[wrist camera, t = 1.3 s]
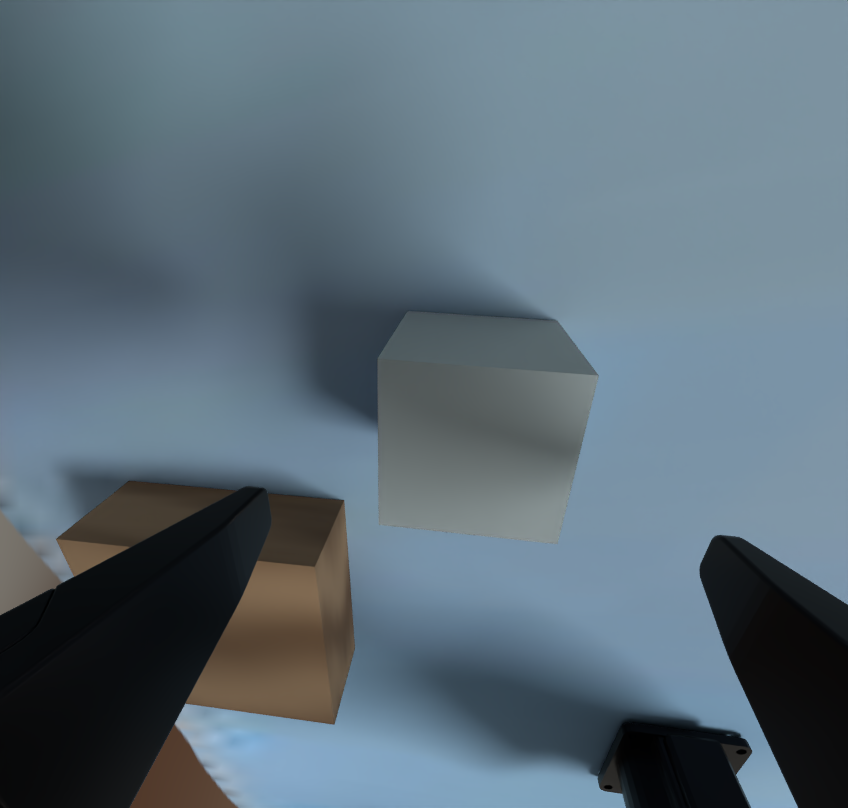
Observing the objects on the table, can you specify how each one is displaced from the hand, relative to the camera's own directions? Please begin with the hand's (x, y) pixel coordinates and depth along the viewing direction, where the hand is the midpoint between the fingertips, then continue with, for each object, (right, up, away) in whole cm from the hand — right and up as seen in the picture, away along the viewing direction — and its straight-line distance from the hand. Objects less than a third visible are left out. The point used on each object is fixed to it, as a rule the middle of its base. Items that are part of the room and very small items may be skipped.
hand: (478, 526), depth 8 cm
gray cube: (+1, +3, +7) cm, 7 cm away
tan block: (-10, -6, +12) cm, 17 cm away
